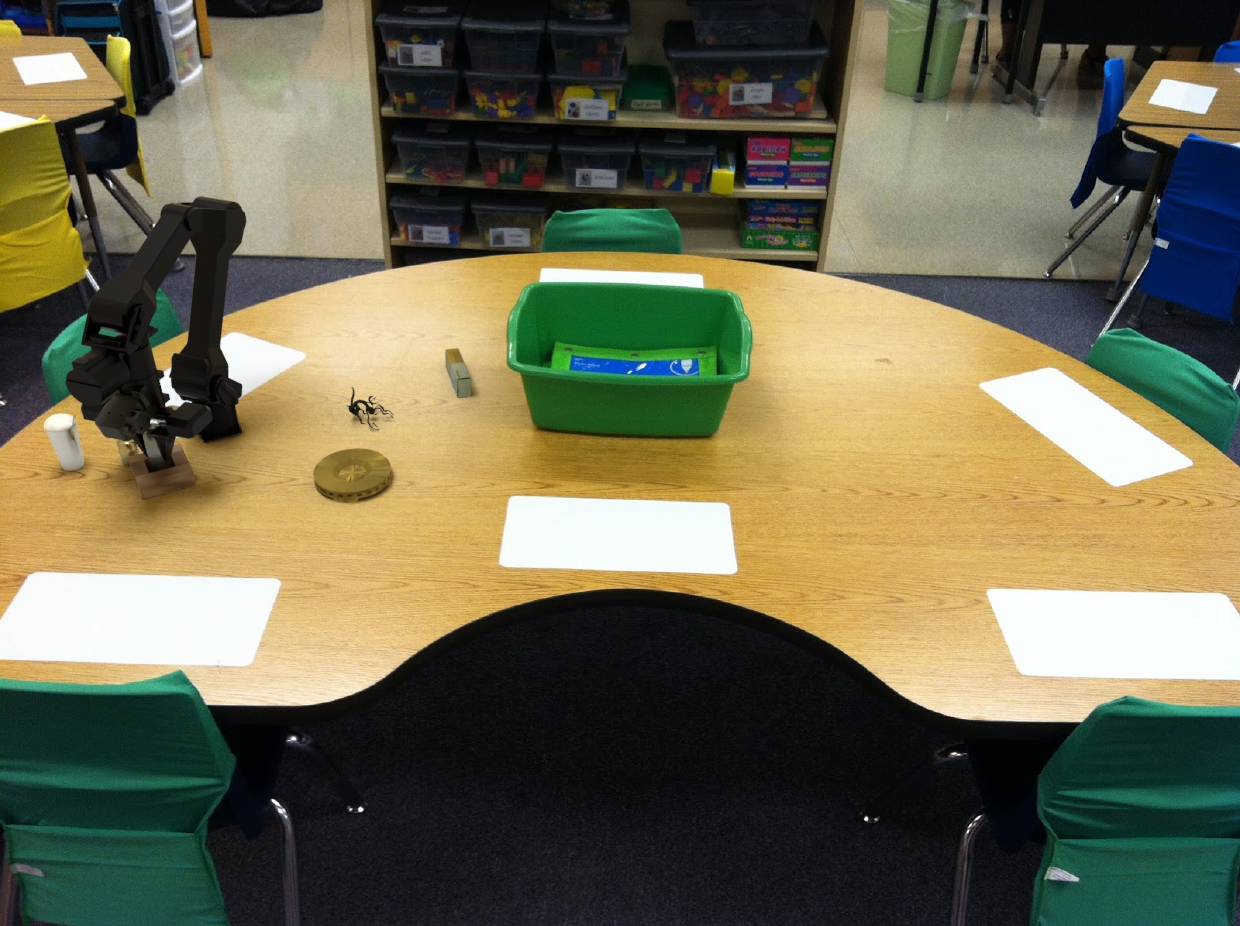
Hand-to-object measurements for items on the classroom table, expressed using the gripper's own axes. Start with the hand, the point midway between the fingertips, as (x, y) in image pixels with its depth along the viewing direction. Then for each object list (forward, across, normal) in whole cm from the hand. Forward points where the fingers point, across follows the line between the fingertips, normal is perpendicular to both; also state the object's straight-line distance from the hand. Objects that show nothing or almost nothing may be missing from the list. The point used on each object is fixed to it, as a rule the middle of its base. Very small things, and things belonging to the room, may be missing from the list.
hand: (158, 457), depth 162 cm
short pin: (+4, -7, +2) cm, 9 cm away
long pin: (+3, 0, 0) cm, 3 cm away
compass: (+4, +28, +8) cm, 30 cm away
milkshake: (+4, -15, -1) cm, 16 cm away
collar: (+4, 0, 0) cm, 4 cm away
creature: (+4, +24, +26) cm, 35 cm away
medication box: (+4, +33, +42) cm, 54 cm away
